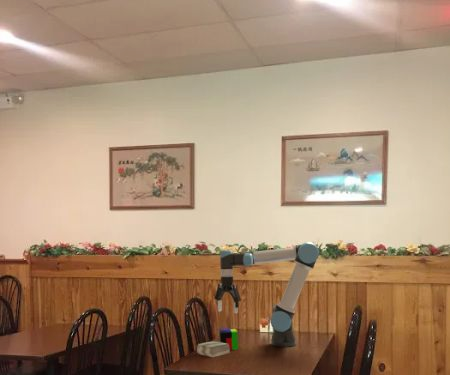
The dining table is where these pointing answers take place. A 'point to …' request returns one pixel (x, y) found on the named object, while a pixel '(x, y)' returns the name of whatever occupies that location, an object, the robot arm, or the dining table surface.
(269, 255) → the robot arm
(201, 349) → the plinth
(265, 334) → the dining table surface
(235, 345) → the puzzle toy
